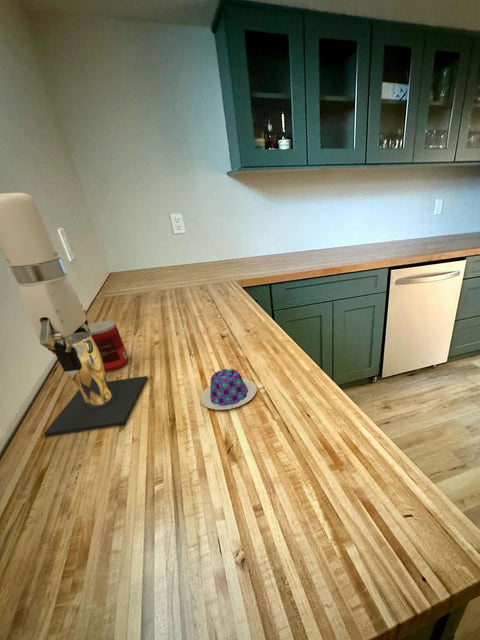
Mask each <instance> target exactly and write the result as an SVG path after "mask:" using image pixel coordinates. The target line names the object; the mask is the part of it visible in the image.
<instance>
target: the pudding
mask: <svg viewBox="0 0 480 640" xmlns="http://www.w3.org/2000/svg"><path fill="white" fill-rule="evenodd" d="M257 389H258V388H257V385H256V383H254V382H253V381H252V380H250V379H247V378H242V376H241V374H240V373H239V372H238V371H237V370H236V369H233V368H230V369H228V368H224V369H222V370H218V371H216V372H214V374H212V375H211V377H210V385H209V386H207V387H206V388H205V389H204V390H203V391H202V393H201V394H200V402H201V404H202V405H203V406H204V407H206V408H208V409H211V410H217V411H218V410H219V411H220V410H223V411H224V410H229V409H234V408H235V409H236V408H238V407H240V406H243V405H244V404H246V403H249V401H251V400H253V398H254V397H255V395H256V393H257V391H258V390H257Z"/></svg>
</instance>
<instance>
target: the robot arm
mask: <svg viewBox="0 0 480 640" xmlns="http://www.w3.org/2000/svg"><path fill="white" fill-rule="evenodd" d="M0 251H1V253H2V255H3V257H4V259H5V261H6V263H7V265H8V266H9V268H10V270H11V272H12V274H13V276H14V278H15V280H16V282H17V285H18V286H19V287H18V290H19V294H20V298H21V300H22V303H23V306H24V309H25V311H26V314H27V315H28V319H29V321H30V323H31V325H32V328H33V329H34V331H35V333H36V336H37V337H38V339H39V344H40V345H41V346H42V347H44V348H46V349H47V350H48V351H50V352H51V353H52V354H53V355H55V356H56V359H57V360H58V362H59V364H60V366H61V368H62V370H63V372H65V373H67V372H68V371H75V370H81V368H82V366H81V364H80V361H79V359H78V357H77V355H76V353H75V351H74V350H71V346H70V340H69V336H70V335H71V334H72V333H78V332H88V333H90V329H89V327H88V325H89V320H88V318H87V311H86V309H85V308H84V307H83V304H82V303H81V301H80V298H79V296H78V294H77V292H76V291H75V288H74V287H73V285H72V283H71V281H70V280H69V278H68V277H69V274H68V273H67V270H66V268H65V266H64V263H63V260H62V259H61V256H60V254H59V250H58V249H57V246H56V244H55V242H54V239H53V237H52V235H51V232H50V231H49V227H48V226H47V223H46V221H45V219H44V216H43V213H42V211H41V210H40V207H39V205H38V203H37V201H36V199H35V198H34V196H32V195H30V194H29V193H26V192H17V191H16V192H3V193H0ZM57 334H60V335H57ZM57 340H63V345H62V344H60V343H57Z"/></svg>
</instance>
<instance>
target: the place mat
mask: <svg viewBox="0 0 480 640" xmlns="http://www.w3.org/2000/svg"><path fill="white" fill-rule="evenodd" d="M147 381H148V376H147V375H145V376H144V375H143V376H138V377H137V376H136V377H129V378H123V379H116V380H107V382H108V384H109V386H110V388H111V389H112V391H113V392H114V393H115V395H116V398H115V400H114V401H113V402H112V403H110V404H109V405H107V406H105V407H102V408H98V409H88V408H86V407H85V404H84V400H83V396H82V394H81V392H80V390H79V389H78V390H77V391H76V393H74V395H73V397H71V398H70V400H69V402H67V404H66V405H65V406H64V408H62V410H61V411H60V413H59V414H58V415H57V417H56V418H55V419H54V420H53V421H52V422H51V424H50V425H49V427H48V428H46V430H45V431H44V435H45V437H49V436H56V435H62V434H69V433H76V432H82V431H83V432H84V431H90V430H97V429H103V428H109V427H111V428H112V427H116V426H122V425H123V426H124V425H126V423H127V421H128V419H129V417H130V415H131V413H132V411H133V409H134V406H135V405H136V404H137V401H138V399H139V397H140V395H141V393H142V391H143V389H144V387H145V385H146V383H147Z"/></svg>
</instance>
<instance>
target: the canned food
mask: <svg viewBox="0 0 480 640" xmlns="http://www.w3.org/2000/svg"><path fill="white" fill-rule="evenodd" d="M88 327H89V329H90V334H91V336H92V338H93V340H94V342H95V344H96V345H97V347H98V350H99V352H100V354H101V357H102V361H103V364H104V369H105V372H106V371H107V372H109V371H114V370H119V369H120V368H123V367H125V366H126V365H127V364H128V362H129V355H128V353H127V349H126V348H125V344H124V342H123V339H122V337H121V334H120V331H119V329H118V327H117V324H116V323H115V321H113V320H102V321H98V322H97V321H96V322H93V323H90V324H88Z"/></svg>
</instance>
